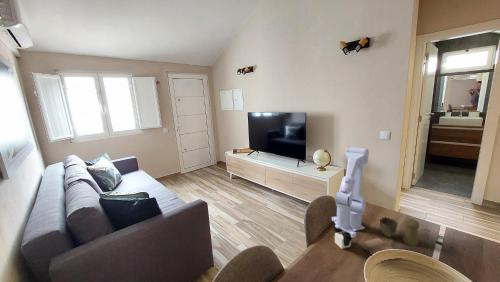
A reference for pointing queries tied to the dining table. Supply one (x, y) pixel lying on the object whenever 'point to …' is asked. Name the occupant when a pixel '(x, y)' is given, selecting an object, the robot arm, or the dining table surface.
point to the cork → (411, 232)
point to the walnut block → (375, 245)
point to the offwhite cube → (340, 240)
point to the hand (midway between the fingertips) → (342, 241)
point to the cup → (388, 226)
